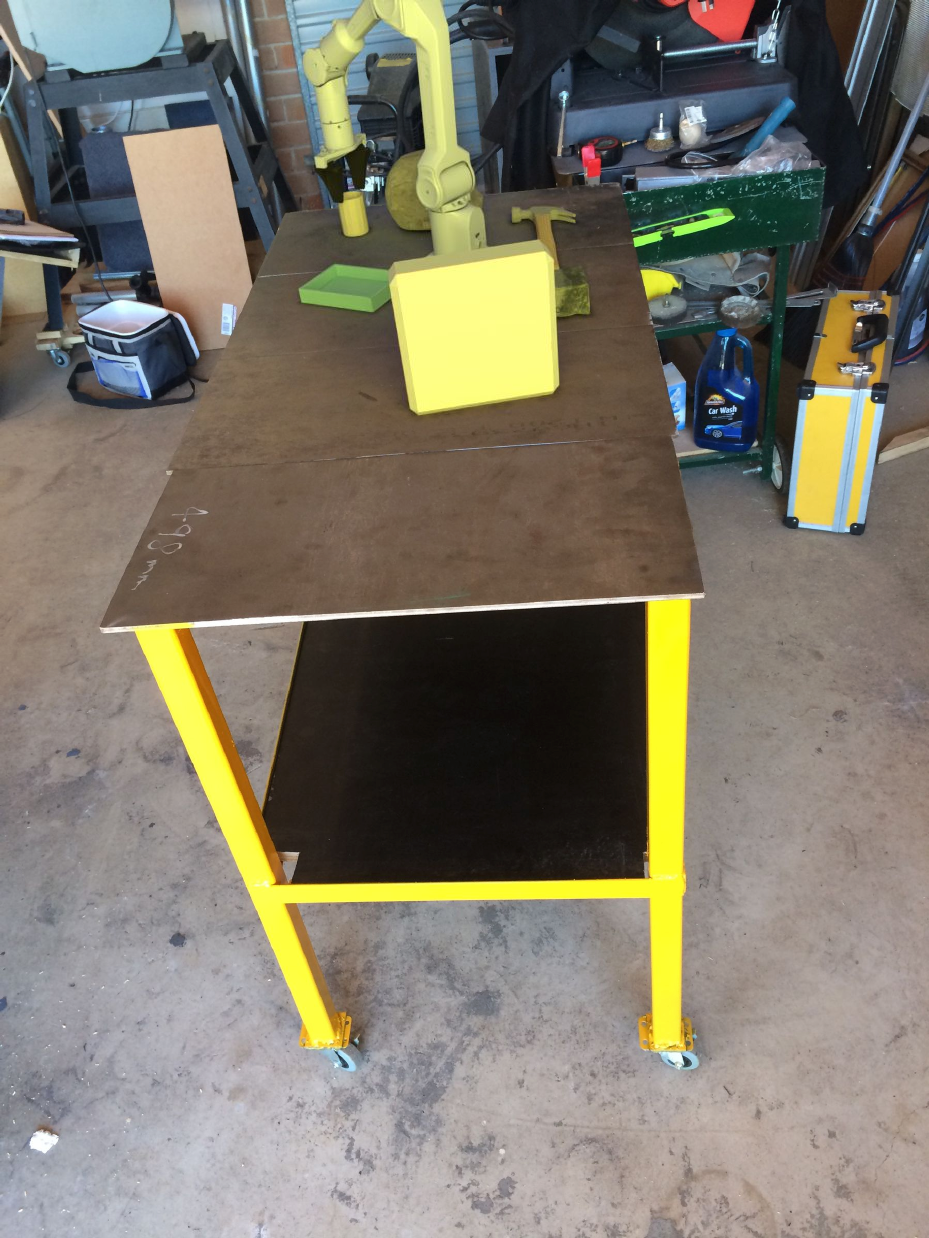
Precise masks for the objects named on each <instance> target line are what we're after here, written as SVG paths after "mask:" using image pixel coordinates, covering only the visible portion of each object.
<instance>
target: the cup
mask: <svg viewBox="0 0 929 1238" xmlns="http://www.w3.org/2000/svg"><path fill="white" fill-rule="evenodd" d="M343 194H344V202H343V203H336V204H337V209H338V215H339V218H340V224H341V230H342V233H343V236H345V237H349V238H352V237H360V236H364V235H366V234H367V233H369V231H370V225H369V220H368V214H367V208H366V201H365V196H364V192H362V191H360V190H350V191H349V190H348V191H345V192H344V191H343Z"/></svg>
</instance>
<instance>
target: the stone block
mask: <svg viewBox="0 0 929 1238" xmlns="http://www.w3.org/2000/svg"><path fill="white" fill-rule="evenodd" d="M554 282H555V304H556V318H564V317H571V316H573V315H578V314H580V315H590V311H591V308H590V307H591V306H590V291H589V282H588V280H587V277H586V275H585V272H584V270H583V269H582V266H581V265H574V266H570V267H564V268H559V269H557V270H554Z"/></svg>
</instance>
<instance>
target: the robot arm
mask: <svg viewBox="0 0 929 1238" xmlns="http://www.w3.org/2000/svg"><path fill="white" fill-rule="evenodd" d="M381 21H382V22H383V23H385V24H386V25H388V26H390V27H391V28H392V29H393V30H395V31H397V32H398V33H399V34H401V35H402V36H404V37H405V38H409V39H410V41H412V42H413V44H414V46H415V51H416V52H415V53H416V63H417V73H418V81H419V83H418V84H419V94H420V104H421V105H420V106H421V112H422V113H421V114H422V125H423V134H424V135H423V137H424V144H425V145H424V146H425V148H424V149H425V151H424V153H423V155H422V156H421V158H420V160H419V162H418V165H417V167H418V177H417V181H416V192H417V196H418V198H419V200H420V202H421V203H422V204H423V206H424V207H425V209H426V210H429V218H430V225H431V230H430V232H431V240H432V247H433V251H432V252H430V253H428V254H427V255H426V256H425V257H430V256H437V255H443V254H449V253H456V252H462V251H469V250H475V249H481V248H488V247H490V246H489V245H488V244H487V243H488V241H487V233H486V223H485V221H486V220H485V215H484V211H483V209H482V210H481V208H479V207H476V206H473V205H471V204H470V203H468V201H469V200H470V193H471V192H472V191H473V189H474V187H475V186H476V175H475V171H474V168H473V166H472V164H471V157H470V153H469V151H467V150H466V149H465V148H463V146H462V147H461V146H460V145H459V144H458V135H457V123H456V122H457V121H456V109H455V108H456V107H455V97H454V96H455V95H454V94H455V93H454V82H453V68H452V55H451V53H452V52H451V42H450V41H451V39H450V30H449V24H448V21H447V17H446V14H445V11H444V3H443V0H361V2H360V3H359V5H358V6H357V8H356V9H355V10H354V11H353V13H352V15H351V16H350V17H349V18H347V17H346V18H337V19H334V20H333V21H331V23H330V25H331V29H330V30H329V31H328V33H326V35H324V36H321V37H320V39H319V44H317V46H316V47H309V48H307V49H305V51H304V53H303V55H302V60H301V61H302V69H303V73H304V75H305V77H306V79H307V80H308V82H309V83H310V84H311V85H312V86H313V90H314V95H315V100H316V105H317V111H318V116H319V120H320V127H321V131H322V132H321V133H322V137H323V142H324V143H323V144H321V145H320V149H321V150H320V152H319V153H318V154H317V155H315V156H314V157H313V159H314V164H315V165H314V166H313V167H314V172H315V173H316V174H317V176H318V177H319V178H320V179H321V181H322V182H323V184H324V185H325V187H326V190H327V192H328V194H329V196H330V198H331V201H332V203H333V204H337V203H343V202H344V194H343V193H344V187H343V175H344V167H345V166H344V165H341V164H340V165H339V164H337V162H336V163H335V161H337V160H338V159H340V158H342V157H344V159H345V161H346V164H347V167H348V170H349V173H350V176H351V182H352V185H353V187H354V189H355V190H361V191H363V190H365V189H366V181H367V180H366V179H367V167H368V163H369V158H370V155H371V148H370V147H369V146H366V145H367V144H368V143H367V141H368V140H367V136H366V132H365V133H361V132H357V133H355V134H354V129H353V123H352V117H351V110H350V105H349V99H348V93H347V88H348V85H349V83H348V74H349V70H350V64H351V63H352V62H353V61H354V60H355V59H356V57H357V56H359V54H360V53H361V52H362V51H363V50H364V48H365V44H366V39H365V37H366V35H367V34H368V33H370V31H372V30H373V29H374V27H376V26H377V25H378V24H379V23H380V22H381Z"/></svg>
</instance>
